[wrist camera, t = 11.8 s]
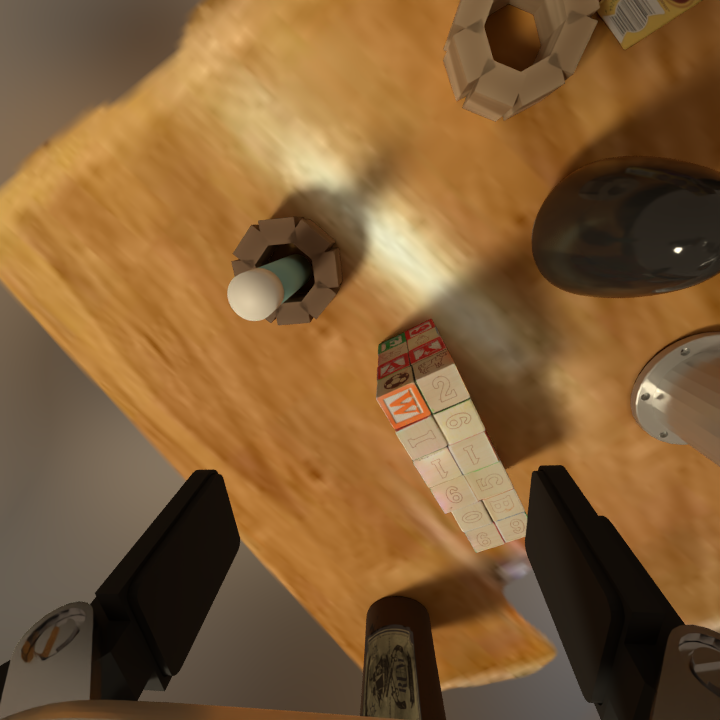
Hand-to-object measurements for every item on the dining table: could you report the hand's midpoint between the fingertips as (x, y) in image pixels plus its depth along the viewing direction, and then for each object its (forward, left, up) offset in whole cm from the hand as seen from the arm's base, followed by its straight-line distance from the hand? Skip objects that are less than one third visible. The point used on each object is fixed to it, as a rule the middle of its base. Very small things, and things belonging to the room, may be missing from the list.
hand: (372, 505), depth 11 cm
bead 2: (-12, -19, -27) cm, 35 cm away
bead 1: (+8, -4, -26) cm, 28 cm away
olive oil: (+1, +48, -27) cm, 55 cm away
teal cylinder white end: (+7, -4, -27) cm, 28 cm away
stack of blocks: (-7, +13, -27) cm, 30 cm away
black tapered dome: (-18, -5, -27) cm, 33 cm away
